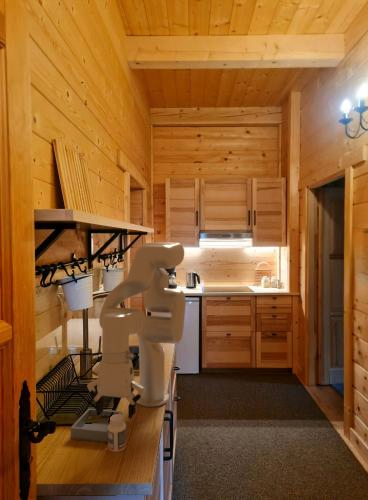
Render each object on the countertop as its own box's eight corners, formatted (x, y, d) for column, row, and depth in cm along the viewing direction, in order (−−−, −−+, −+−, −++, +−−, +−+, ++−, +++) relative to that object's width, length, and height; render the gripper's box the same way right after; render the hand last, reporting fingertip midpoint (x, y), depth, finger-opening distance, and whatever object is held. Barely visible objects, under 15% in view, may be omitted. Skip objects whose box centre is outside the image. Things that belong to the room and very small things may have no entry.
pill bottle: (127, 441, 103) (127, 412, 103) (125, 452, 98) (124, 422, 98) (109, 441, 103) (109, 412, 103) (106, 452, 98) (106, 422, 98)
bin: (88, 418, 116) (88, 408, 116) (122, 421, 114) (122, 411, 114) (70, 439, 105) (70, 427, 105) (107, 443, 102) (107, 431, 102)
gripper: (148, 354, 101) (148, 411, 102) (93, 350, 105) (93, 406, 105) (140, 362, 94) (140, 424, 94) (81, 358, 97) (81, 418, 97)
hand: (115, 414), depth 100 cm, fingers open, 9 cm apart
